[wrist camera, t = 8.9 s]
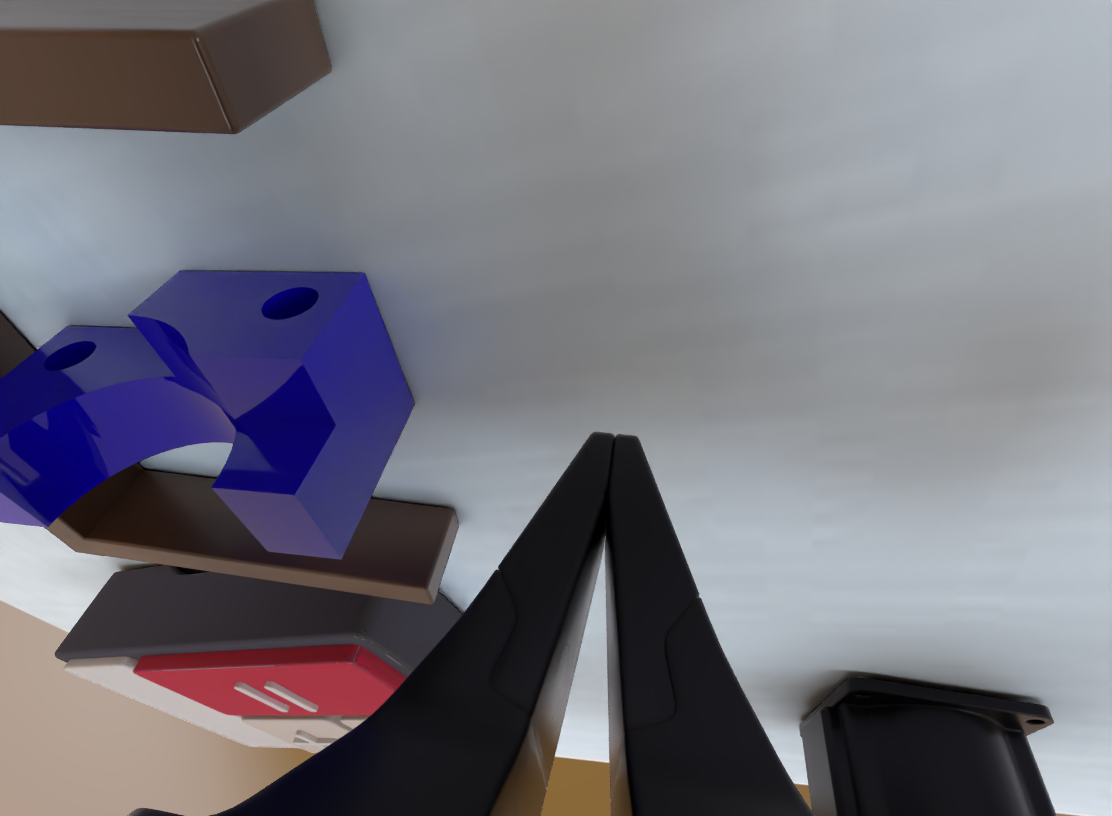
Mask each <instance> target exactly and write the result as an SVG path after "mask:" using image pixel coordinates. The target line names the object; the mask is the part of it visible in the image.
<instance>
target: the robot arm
mask: <svg viewBox="0 0 1112 816" xmlns="http://www.w3.org/2000/svg"><path fill="white" fill-rule="evenodd" d="M605 536H606V540H605ZM604 543H605V580H606V625H607V670H608V715H609V760H610V798H611V803H610V806H611V816H1057V815H1056V813H1055V810H1054V807H1053V805H1052V802H1051V800H1050V797H1049V794H1048V792H1047V789H1046V787H1045V784H1044V781H1043V779H1042V776H1041V774H1040V771H1039V768H1038V766H1037V763H1036V760H1035V758H1034V755H1033V753H1032V750H1031V747H1030V745H1029V742H1028V740H1027V737H1026V736H1027V735H1029V734H1031V733H1034V732H1036V731H1038V730H1040V729H1043V728H1045V727H1047V726H1049V725H1051V724H1053V723H1054V721H1053V718H1052V716H1051V713H1050V711H1049V709H1048V707H1046V706H1044V705H1039V704H1033V703H1026V702H1019V701H1013V700H1006V699H1000V698H993V697H987V696H980V695H973V694H967V693H960V692H954V691H947V690H940V689H934V688H927V687H921V686H914V685H907V684H901V683H894V682H888V681H881V680H874V679H868V678H851V679H848V680H846V681H845V682H844V683H843V684H842V685H841V686H839V687H838V688H837V689H836V690H835V691H834V692H833V693H832V694H831V695H830V696H829V697H828V698H827V699H826V700H825V701H824V702H823V703H821V704H820V705H819V706H818V707H817V708H816V709H815V710H814V711H813V712H812V713H811V714H810V715H809V716H808V717H807V718H806V719H804V720H803V721H802V722H801V723H800V724H799V729H800V736H801V737H802V739H803V747H804V754H805V762H806V769H807V777H808V784H809V791H810V799H811V806H812V810H811V809H810V807H809V806H808V804H807V803H806V802H805V800H804V799H803V797H802V796H801V794H800V793H799V791H798V790H797V788H796V787H795V785H794V783H793V782H792V780H791V778H790V777H789V775H788V773H787V772H786V770H785V768H784V766H783V764H782V763H781V761H780V759H779V757H778V755H777V754H776V752H775V750H774V748H773V746H772V744H771V742H770V740H769V738H768V737H767V735H766V733H765V731H764V729H763V727H762V725H761V723H760V722H759V720H758V718H757V716H756V714H755V712H754V710H753V708H752V707H751V705H750V703H749V701H748V699H747V697H746V695H745V693H744V692H743V690H742V688H741V686H740V684H739V682H738V680H737V678H736V676H735V674H734V672H733V670H732V668H731V666H730V664H729V662H728V660H727V658H726V656H725V654H724V652H723V650H722V648H721V645H720V643H719V641H718V638H717V636H716V634H715V631H714V629H713V627H712V624H711V622H710V620H709V617H708V615H707V612H706V609H705V607H704V604H703V602H702V599H701V598H699V592H698V590H697V587H696V584H695V582H694V579H693V577H692V574H691V572H690V569H689V566H688V564H687V561H686V559H685V556H684V554H683V551H682V548H681V546H680V543H679V541H678V538H677V536H676V533H675V530H674V528H673V525H672V523H671V520H670V518H669V515H668V512H667V510H666V507H665V505H664V502H663V500H662V497H661V494H660V492H659V489H658V487H657V484H656V482H655V479H654V476H653V474H652V471H651V469H650V466H649V464H648V461H647V458H646V456H645V453H644V451H643V448H642V446H641V443H640V440H639V439H638V437H637V436H633V435H623V434H618V435H616V436H614V435H613V434H612V433H603V432H593V433H592V434H591V435H590V436H589V438H588V439H587V440H586V442H585V443H584V445H583V446H582V448H581V449H580V450H579V452H578V453H577V455H576V456H575V458H574V459H573V460H572V462H571V463H570V465H569V466H568V468H567V469H566V470H565V472H564V473H563V475H562V476H561V478H560V479H559V480H558V482H557V483H556V485H555V486H554V488H553V489H552V490H551V492H550V493H549V495H548V496H547V498H546V499H545V500H544V502H543V503H542V505H541V506H540V508H539V509H538V510H537V512H536V513H535V515H534V516H533V518H532V519H531V520H530V522H529V523H528V525H527V526H526V528H525V529H524V530H523V532H522V533H521V535H520V536H519V538H518V539H517V540H516V542H515V543H514V545H513V546H512V548H511V549H510V550H509V552H508V553H507V555H506V556H505V557H504V559H503V560H502V562H501V563H500V565H499V566H498V569H499V570H495V571H494V573H493V574H492V576H491V577H490V579H489V580H488V581H487V583H486V584H485V586H484V587H483V588H482V590H481V591H480V592H479V594H478V595H477V596H476V598H475V599H474V600H473V602H472V603H471V604H470V606H469V607H468V608H467V610H466V611H465V612H464V613H463V615H462V616H461V617H460V618H459V619H458V620H457V622H456V623H455V624H454V625H453V626H452V628H451V629H450V630H449V631H448V632H447V633H446V635H445V636H444V637H443V638H442V639H441V640H440V641H439V642H438V644H437V645H436V646H435V647H434V648H433V649H432V650H431V651H430V653H429V654H428V655H427V656H426V657H425V658H424V659H423V660H422V661H421V663H420V664H419V665H418V666H417V667H416V668H415V669H414V670H413V672H412V673H411V674H410V675H409V676H408V677H407V678H406V679H405V680H404V682H403V683H402V684H401V685H400V686H399V687H398V688H397V689H396V690H395V692H394V693H393V694H392V695H391V696H390V697H389V698H388V699H387V700H386V701H385V702H384V703H383V704H382V705H381V706H380V707H379V708H378V709H377V710H376V711H375V712H374V713H373V714H372V715H370V716H369V717H368V718H367V719H366V720H365V721H363V722H362V723H361V724H359V725H358V726H357V727H355V728H354V729H353V730H351V731H350V732H348V733H347V734H345V735H344V736H342V737H341V738H339V739H338V740H336V741H335V742H333V743H332V744H330V745H329V746H327V747H326V748H324V749H323V750H321V751H320V752H318V753H317V754H315V755H314V756H312V757H311V758H309V759H308V760H306V761H305V762H303V763H302V764H300V765H298V766H297V767H295V768H294V769H292V770H291V771H289V772H288V773H286V774H285V775H283V776H282V777H280V778H279V779H277V780H276V781H274V782H273V783H271V784H270V785H268V786H267V787H265V788H264V789H262V790H261V791H259V792H258V793H256V794H255V795H253V796H252V797H250V798H249V799H247V800H245V801H244V802H242V803H240V804H238V805H237V806H235V807H233V808H231V809H228V810H226V811H223V812H221V813H218V814H215V815H210V816H541V811H542V807H543V803H544V799H545V795H546V787H547V786H548V781H549V778H550V773H551V769H552V765H553V761H554V757H555V752H556V748H557V744H558V740H559V736H560V731H561V727H562V723H563V719H564V714H565V710H566V706H567V702H568V698H569V693H570V689H571V685H572V681H573V677H574V672H575V668H576V664H577V660H578V655H579V651H580V647H581V643H582V639H583V634H584V630H585V626H586V622H587V618H588V613H589V609H590V605H591V601H592V596H593V592H594V588H595V584H596V580H597V575H598V571H599V567H600V563H601V559H602V554H603V549H604ZM127 816H183V815H178V814H174V813H169V812H164V811H160V810H154V809H148V808H139V809H136V810H134V811H133V812H131V813H130V814H129V815H127Z"/></svg>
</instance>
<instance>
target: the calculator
mask: <svg viewBox="0 0 1112 816" xmlns="http://www.w3.org/2000/svg"><path fill="white" fill-rule="evenodd" d="M462 615H463V614H462V613H461V612H459V611H458V610H457V609H456V608H455V607H454V606H453V605H452V604H451V603H450V602H449V601H448V600H447V599H446V598H445V597H444V596H442V595H441V594H440V593H439V592H437V595H436V598H435V601H434V603H433V604H424V603H417V602H411V601H404V600H397V599H391V598H384V597H377V596H371V595H364V594H357V593H351V592H344V591H337V590H331V589H324V588H317V587H311V586H304V585H297V584H291V583H284V582H277V581H271V580H264V579H257V578H251V577H244V576H237V575H231V574H224V573H217V572H205V573H197V574H189V575H187V574H185V573H184V572H182V571H180V570H179V569H177V568H176V567H174V566H170V565H162V566H155V567H148V568H140V569H133V570H126V571H119V572H115V573H114V574H113V575H112V576H111V577H110V579H109V580H108V581H107V583H106V584H105V585H104V587H103V588H102V589H101V591H100V592H99V593H98V595H97V596H96V597H95V599H94V600H93V601H92V603H91V604H90V606H89V607H88V608H87V610H86V611H85V612H84V614H83V615H82V616H81V618H80V619H79V620H78V622H77V623H76V624H75V626H74V627H73V628H72V630H71V631H70V633H69V634H68V635H67V637H66V638H65V639H64V641H63V642H62V643H61V645H60V646H59V647H58V649H57V650H56V652H55V656H56V657H57V658H58V659H60V660H62V661H65V662H67V664H66V665H65V667H64V670H65V671H67V672H69V673H72V674H74V675H76V676H79V677H81V678H84V679H86V680H88V681H91V682H93V683H96V684H98V685H101V686H103V687H105V688H108V689H110V690H113V691H115V692H117V693H120V694H123V695H125V696H128V697H130V698H132V699H134V700H137V701H140V702H142V703H144V704H147V705H149V706H151V707H154V708H156V709H159V710H161V711H164V712H166V713H168V714H171V715H173V716H176V717H178V718H181V719H183V720H185V721H188V722H190V723H193V724H195V725H198V726H200V727H202V728H205V729H207V730H210V731H212V732H215V733H217V734H219V735H222V736H224V737H227V738H229V739H231V740H234V741H236V742H239V743H242V744H244V745H247V746H251V747H282V748H301V749H304V750H306V751H308V752H311V753H318V752H320V751H321V750H323V749H324V748H326V747H327V746H329V745H330V744H332V743H333V742H335V741H336V740H338V739H339V738H341V737H342V736H344V735H345V734H347V733H348V732H350V731H351V730H353V729H354V728H355V727H357V726H358V725H359V724H361V723H362V722H363V721H365V720H366V719H367V718H368V717H369V716H370V715H372V714H373V713H374V712H375V711H376V710H377V709H378V708H379V707H380V706H381V705H382V704H383V703H384V702H385V701H386V700H387V699H388V698H389V697H390V696H391V695H392V694H393V693H394V692H395V690H396V689H397V688H398V687H399V686H400V685H401V684H402V683H403V682H404V680H405V679H406V678H407V677H408V676H409V675H410V674H411V673H412V672H413V670H414V669H415V668H416V667H417V666H418V665H419V664H420V663H421V661H422V660H423V659H424V658H425V657H426V656H427V655H428V654H429V653H430V651H431V650H432V649H433V648H434V647H435V646H436V645H437V644H438V642H439V641H440V640H441V639H442V638H443V637H444V636H445V635H446V633H447V632H448V631H449V630H450V629H451V628H452V626H453V625H454V624H455V623H456V622H457V620H458V619H459V618H460V617H461V616H462Z"/></svg>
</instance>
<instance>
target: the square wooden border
mask: <svg viewBox="0 0 1112 816" xmlns="http://www.w3.org/2000/svg"><path fill="white" fill-rule="evenodd" d="M330 72H331V62H330V58H329V55H328V51H327V47H326V44H325V40H324V37H323V33H322V29H321V26H320V22H319V18H318V15H317V11H316V8H315V4H314V0H0V125H14V126H39V127H64V128H90V129H115V130H140V131H166V132H191V133H216V134H238V133H239V132H241V131H243V130H244V129H246V128H247V127H249V126H250V125H252V124H253V123H255V122H256V121H258V120H259V119H261V118H262V117H264V116H265V115H267V114H268V113H270V112H271V111H273V110H274V109H276V108H277V107H279V106H280V105H282V104H283V103H285V102H287V101H288V100H290V99H291V98H293V97H294V96H296V95H297V94H299V93H300V92H302V91H303V90H305V89H306V88H308V87H309V86H311V85H312V84H314V83H315V82H317V81H318V80H320V79H321V78H323V77H324V76H326V75H327V74H329V73H330ZM34 352H35V350H34V349H33V348H32V347H31V346H30V345H29V344H28V343H27V342H26V340H25V339H24V338H23V337H22V336H21V335H20V334H19V333H18V332H17V331H16V330H15V328H14V327H13V326H12V325H11V324H10V323H9V322H8V321H7V320H6V319H5V317H4V316H3V315H2V314H1V313H0V379H1V378H2V377H4V376H5V375H6V374H7V373H9V372H10V371H11V370H13V369H14V368H15V367H16V366H18V365H19V364H20V363H21V362H23V361H24V360H25V359H26V358H28V357H29V356H30V355H31V354H33V353H34ZM215 481H216V479H212V478H204V477H196V476H188V475H180V474H172V473H165V472H157V471H149V470H143V468H142V467H141V466H140V465H139V464H138V463H135V464H133V465H131V466H129V467H127V468H125V469H123V470H121V471H120V472H118V473H116V474H114V475H113V476H111V477H109V478H108V479H106V480H105V481H103V482H102V483H100V484H98V485H97V486H95V487H94V488H93V489H91V490H90V491H89V492H87V493H86V494H84V495H83V496H82V497H81V498H79V499H78V500H77V501H76V502H74V503H73V504H72V505H71V506H70V507H68V508H67V509H66V510H65V511H64V512H63V513H62V514H61V515H60V516H59V517H58V518H57V519H56V520H55V521H54V522H53V523H52V524H51V525H50V526H49V527H44V528H46V529H47V530H48V531H50V532H51V533H52V534H53V535H55V536H56V537H57V538H59V539H60V540H61V541H62V542H64V543H65V544H66V545H68V546H69V547H70V548H71V549H73V550H74V551H75V552H80V553H87V554H93V555H100V556H110V557H117V558H124V559H130V560H137V561H144V562H150V563H157V564H164V565H170V566H177V567H184V568H190V569H197V570H204V571H211V572H217V573H224V574H231V575H237V576H244V577H251V578H257V579H264V580H271V581H277V582H284V583H291V584H297V585H304V586H311V587H317V588H324V589H331V590H337V591H344V592H351V593H357V594H364V595H371V596H377V597H384V598H391V599H397V600H404V601H411V602H417V603H424V604H433V603H434V601H435V598H436V595H437V592H438V589H439V586H440V583H441V580H442V577H443V574H444V571H445V568H446V565H447V562H448V558H449V555H450V552H451V549H452V546H453V543H454V540H455V537H456V534H457V531H458V528H459V527H458V523H457V519H456V516H455V512H454V510H453V509H449V508H442V507H434V506H426V505H418V504H410V503H402V502H394V501H386V500H378V499H370V500H369V502H368V504H367V506H366V508H365V511H364V513H363V515H362V517H361V519H360V521H359V523H358V525H357V527H356V530H355V532H354V534H353V536H352V538H351V540H350V542H349V544H348V546H347V549H346V551H345V553H344V555H343V557H342V559H341V560H340V559H331V558H322V557H313V556H304V555H295V554H286V553H277V552H268V551H267V550H266V549H265V548H264V547H263V545H262V544H261V543H260V542H259V541H258V540H257V539H256V538H255V537H254V535H253V534H252V533H251V532H250V531H249V530H248V529H247V528H246V526H245V525H244V524H243V523H242V522H241V521H240V520H239V519H238V517H237V516H236V515H235V514H234V513H233V512H232V511H231V510H230V508H229V507H228V506H227V505H226V504H225V503H224V502H223V501H222V499H221V498H220V497H219V496H218V495H217V494H216V493H215V492H214V490H213V489H212V488H211V487H212V485H213V484H214V482H215Z"/></svg>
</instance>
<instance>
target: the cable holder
mask: <svg viewBox="0 0 1112 816" xmlns="http://www.w3.org/2000/svg"><path fill="white" fill-rule="evenodd" d="M128 317H129V318H130V319H131V320H132V322H133V323H134V324H135V326H136V327H137V328H115V327H85V326H67V327H66V328H64V329H63V330H62V331H61V332H59V333H58V334H57V335H56V336H54V337H53V338H52V339H50V340H49V341H48V342H47V343H45V344H44V345H43V346H42V347H40V348H39V349H38V350H37V351H35V352H34V353H33V354H31V355H30V356H29V357H28V358H26V359H25V360H24V361H23V362H21V363H20V364H19V365H18V366H16V367H15V368H14V369H13V370H11V371H10V372H9V373H7V374H6V375H5V376H4V377H2V378H1V379H0V522H4V523H13V524H22V525H31V526H40V527H49V526H50V525H51V524H52V523H53V522H54V521H55V520H56V519H57V518H58V517H59V516H60V515H61V514H62V513H63V512H64V511H65V510H66V509H67V508H68V507H70V506H71V505H72V504H73V503H74V502H76V501H77V500H78V499H79V498H81V497H82V496H83V495H84V494H86V493H87V492H89V491H90V490H91V489H93V488H94V487H95V486H97V485H98V484H100V483H102V482H103V481H105V480H106V479H108V478H109V477H111V476H113V475H114V474H116V473H118V472H120V471H121V470H123V469H125V468H127V467H129V466H131V465H133V464H135V463H137V462H139V461H142V460H144V459H146V458H149V457H151V456H154V455H156V454H159V453H162V452H165V451H168V450H171V449H175V448H179V447H183V446H187V445H193V444H198V443H208V442H227V443H233V447H232V450H231V452H230V455H229V457H228V460H227V462H226V464H225V466H224V468H223V469H222V471H221V473H220V475H219V476H218V478H217V479H216V481H215V482H214V484H213V485H212V487H211V488H212V489H213V490H214V492H215V493H216V494H217V495H218V496H219V497H220V498H221V499H222V501H223V502H224V503H225V504H226V505H227V506H228V507H229V508H230V510H231V511H232V512H233V513H234V514H235V515H236V516H237V517H238V519H239V520H240V521H241V522H242V523H243V524H244V525H245V526H246V528H247V529H248V530H249V531H250V532H251V533H252V534H253V535H254V537H255V538H256V539H257V540H258V541H259V542H260V543H261V544H262V545H263V547H264V548H265V549H266V550H267V551H268V552H277V553H286V554H295V555H304V556H313V557H322V558H331V559H340V560H341V559H342V557H343V555H344V553H345V551H346V549H347V546H348V544H349V542H350V540H351V538H352V536H353V534H354V532H355V530H356V527H357V525H358V523H359V521H360V519H361V517H362V515H363V513H364V511H365V508H366V506H367V504H368V502H369V500H370V498H371V496H372V494H373V492H374V490H375V487H376V485H377V483H378V481H379V479H380V477H381V475H382V473H383V471H384V468H385V466H386V464H387V462H388V460H389V458H390V456H391V454H392V452H393V449H394V447H395V445H396V443H397V441H398V439H399V437H400V435H401V433H402V430H403V428H404V426H405V424H406V422H407V420H408V418H409V416H410V414H411V411H412V409H413V407H414V405H415V404H414V401H413V399H412V396H411V394H410V391H409V388H408V386H407V383H406V381H405V378H404V375H403V373H402V370H401V367H400V365H399V362H398V360H397V357H396V354H395V352H394V349H393V346H392V344H391V341H390V339H389V336H388V333H387V331H386V328H385V325H384V323H383V320H382V318H381V315H380V312H379V310H378V307H377V304H376V302H375V299H374V297H373V294H372V291H371V289H370V286H369V284H368V281H367V278H366V276H365V273H329V272H241V271H179V272H178V273H177V274H175V275H174V276H173V277H172V278H171V279H170V280H168V281H167V282H166V283H165V284H164V285H163V286H161V287H160V288H159V289H158V290H157V291H156V292H154V293H153V294H152V295H151V296H150V297H149V298H147V299H146V300H145V301H144V302H143V303H142V304H140V305H139V306H138V307H137V308H136V309H135V310H133V311H132V312H131V313H130V314H129V315H128Z"/></svg>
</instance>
